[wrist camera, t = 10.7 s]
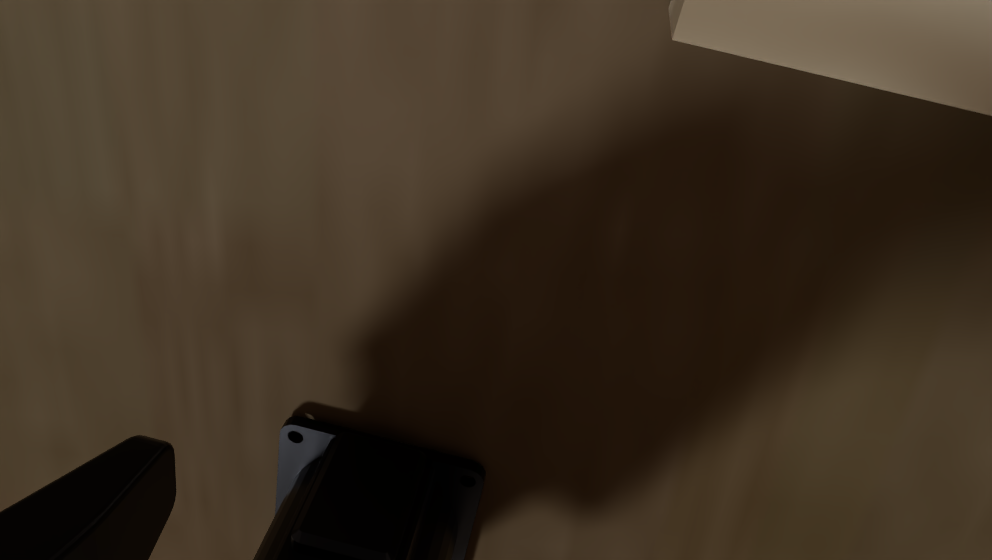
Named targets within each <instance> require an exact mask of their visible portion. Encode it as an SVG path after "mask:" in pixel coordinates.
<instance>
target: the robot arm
mask: <svg viewBox="0 0 992 560" xmlns="http://www.w3.org/2000/svg"><path fill="white" fill-rule="evenodd" d="M295 431H297V432H299V433H300V434H298V433H296V432H295ZM464 475H469V476H471V477H473V478H468V477H466V476H464ZM485 476H486V472H485V470H484V468H483V466H481V465H480V464H479V463H477V462H475V461H472V460H468V459H464V458H460V457H456V456H452V455H448V454H444V453H440V452H437V451H433V450H429V449H425V448H421V447H417V446H413V445H409V444H405V443H401V442H398V441H394V440H390V439H386V438H382V437H378V436H374V435H370V434H366V433H362V432H358V431H355V430H351V429H347V428H343V427H339V426H335V425H331V424H327V423H323V422H319V421H315V420H312V419H308V418H304V417H298V416H294V417H290V418H288V419H287V420H286V422H285V423H284V425H283V427H282V429H281V431H280V441H279V458H278V476H277V494H276V511H275V517H274V519H273V521H272V523H271V525H270V527H269V529H268V531H267V533H266V535H265V537H264V539H263V541H262V543H261V545H260V547H259V549H258V551H257V553H256V555H255V557H254V559H253V560H464V557H465V554H466V550H467V546H468V542H469V538H470V535H471V531H472V527H473V523H474V519H475V515H476V512H477V508H478V504H479V500H480V496H481V493H482V489H483V485H484V481H485ZM175 497H176V477H175V455H174V448H173V447H172V445H171V444H170V443H168V442H166V441H162V440H158V439H154V438H151V437H147V436H142V435H137V436H133V437H130V438H128V439H126V440H125V441H123V442H121V443H119V444H118V445H116V446H114V447H112V448H111V449H109V450H107V451H105V452H104V453H102V454H100V455H99V456H97V457H95V458H93V459H92V460H90V461H88V462H86V463H85V464H83V465H81V466H79V467H78V468H76V469H74V470H72V471H71V472H69V473H67V474H66V475H64V476H62V477H60V478H59V479H57V480H55V481H53V482H52V483H50V484H48V485H46V486H45V487H43V488H41V489H39V490H38V491H36V492H34V493H32V494H31V495H29V496H27V497H26V498H24V499H22V500H20V501H19V502H17V503H15V504H13V505H12V506H10V507H8V508H6V509H5V510H3V511H1V512H0V560H148V559H149V557H150V555H151V553H152V551H153V549H154V547H155V544H156V542H157V540H158V538H159V536H160V534H161V532H162V530H163V528H164V526H165V524H166V522H167V520H168V518H169V516H170V513H171V511H172V508H173V505H174V502H175Z"/></svg>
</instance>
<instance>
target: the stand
mask: <svg viewBox="0 0 992 560" xmlns="http://www.w3.org/2000/svg"><path fill="white" fill-rule="evenodd" d="M669 16H670V25H671V34H672V40H675V41H679V42H684V43H688V44H692V45H696V46H700V47H705V48H709V49H713V50H717V51H721V52H726V53H730V54H734V55H738V56H742V57H747V58H751V59H755V60H759V61H764V62H768V63H772V64H776V65H780V66H785V67H789V68H793V69H797V70H801V71H806V72H810V73H814V74H818V75H822V76H827V77H831V78H835V79H839V80H843V81H848V82H852V83H856V84H860V85H864V86H869V87H873V88H877V89H881V90H885V91H890V92H894V93H898V94H902V95H906V96H911V97H915V98H919V99H923V100H927V101H932V102H936V103H940V104H944V105H948V106H953V107H957V108H961V109H965V110H970V111H974V112H978V113H982V114H986V115H991V116H992V0H671V2H670V6H669Z"/></svg>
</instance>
